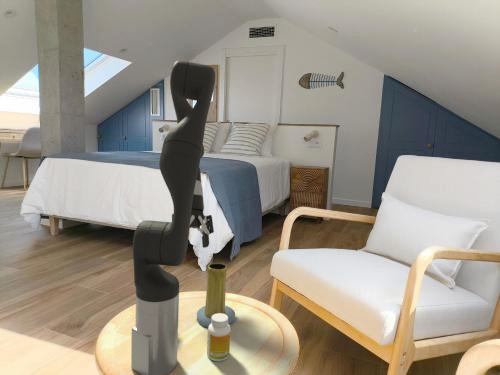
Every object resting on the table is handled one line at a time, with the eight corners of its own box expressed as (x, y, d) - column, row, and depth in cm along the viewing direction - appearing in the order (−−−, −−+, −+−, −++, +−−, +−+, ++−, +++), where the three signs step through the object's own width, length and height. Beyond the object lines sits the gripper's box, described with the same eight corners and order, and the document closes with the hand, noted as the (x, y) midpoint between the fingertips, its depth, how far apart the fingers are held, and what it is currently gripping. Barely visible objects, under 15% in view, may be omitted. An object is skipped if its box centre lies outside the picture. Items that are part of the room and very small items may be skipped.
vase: (227, 309, 104) (229, 263, 101) (223, 319, 98) (226, 271, 95) (206, 307, 104) (209, 261, 102) (202, 317, 98) (204, 269, 96)
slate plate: (216, 333, 93) (217, 328, 93) (188, 318, 100) (188, 313, 100) (242, 317, 102) (242, 313, 102) (215, 305, 109) (215, 300, 108)
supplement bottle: (233, 357, 84) (235, 319, 82) (213, 364, 81) (214, 325, 79) (222, 345, 88) (224, 309, 87) (203, 351, 85) (204, 314, 84)
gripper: (179, 190, 105) (182, 244, 101) (215, 196, 115) (220, 245, 110) (165, 197, 110) (167, 249, 106) (202, 201, 120) (205, 249, 115)
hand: (194, 247), depth 108 cm, fingers open, 8 cm apart
